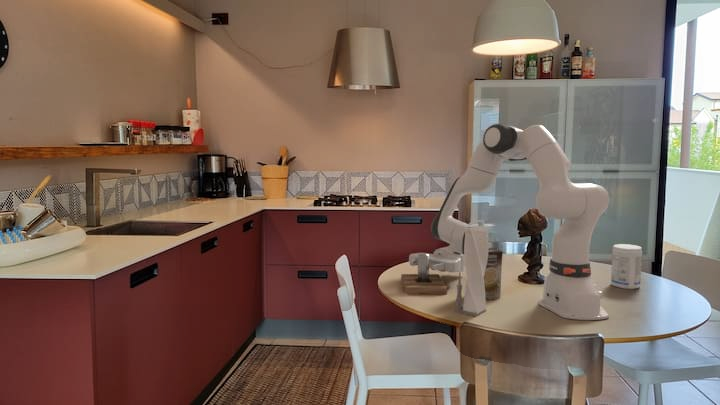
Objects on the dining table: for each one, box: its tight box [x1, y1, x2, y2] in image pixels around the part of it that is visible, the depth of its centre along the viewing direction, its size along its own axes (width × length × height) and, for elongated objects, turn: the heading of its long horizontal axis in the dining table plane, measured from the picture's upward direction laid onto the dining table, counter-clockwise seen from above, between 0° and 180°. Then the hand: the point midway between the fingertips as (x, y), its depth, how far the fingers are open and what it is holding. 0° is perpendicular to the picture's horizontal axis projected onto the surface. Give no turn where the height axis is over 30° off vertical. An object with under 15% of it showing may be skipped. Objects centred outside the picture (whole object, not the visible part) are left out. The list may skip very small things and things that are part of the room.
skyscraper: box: [454, 219, 490, 317], centre depth 159 cm, size 8×8×28 cm
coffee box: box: [483, 247, 503, 301], centre depth 175 cm, size 9×6×16 cm
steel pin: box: [417, 252, 430, 283], centre depth 187 cm, size 4×4×12 cm
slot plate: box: [400, 273, 448, 295], centre depth 188 cm, size 18×14×2 cm
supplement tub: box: [610, 243, 643, 290], centre depth 190 cm, size 10×10×15 cm
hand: (421, 265), depth 186 cm, fingers open, 8 cm apart
